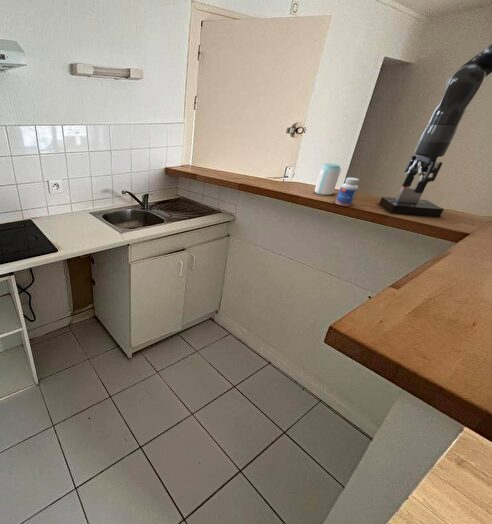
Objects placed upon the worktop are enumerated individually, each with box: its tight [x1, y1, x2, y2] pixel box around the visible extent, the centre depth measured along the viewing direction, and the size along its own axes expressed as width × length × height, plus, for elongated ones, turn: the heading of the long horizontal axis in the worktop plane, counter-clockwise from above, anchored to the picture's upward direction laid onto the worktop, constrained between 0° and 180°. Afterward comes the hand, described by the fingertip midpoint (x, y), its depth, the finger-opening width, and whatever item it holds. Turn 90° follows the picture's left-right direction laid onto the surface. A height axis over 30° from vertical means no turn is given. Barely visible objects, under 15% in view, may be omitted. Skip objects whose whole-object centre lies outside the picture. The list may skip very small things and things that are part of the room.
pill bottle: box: [334, 177, 360, 207], centre depth 107 cm, size 6×5×10 cm
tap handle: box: [395, 186, 424, 203], centre depth 100 cm, size 6×2×5 cm, turn 73°
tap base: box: [378, 196, 445, 219], centre depth 102 cm, size 14×11×3 cm
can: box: [314, 163, 342, 196], centre depth 119 cm, size 7×7×12 cm
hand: (411, 189), depth 99 cm, fingers open, 8 cm apart
